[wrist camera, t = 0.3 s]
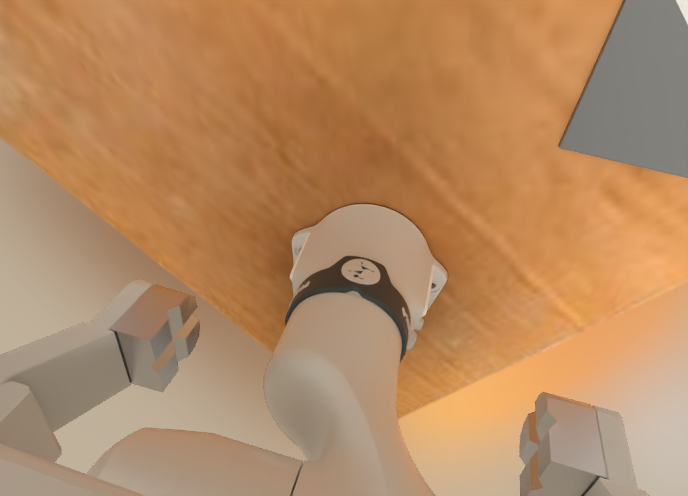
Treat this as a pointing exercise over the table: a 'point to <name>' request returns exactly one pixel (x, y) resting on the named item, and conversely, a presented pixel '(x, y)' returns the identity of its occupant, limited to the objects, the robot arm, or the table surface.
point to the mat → (638, 91)
